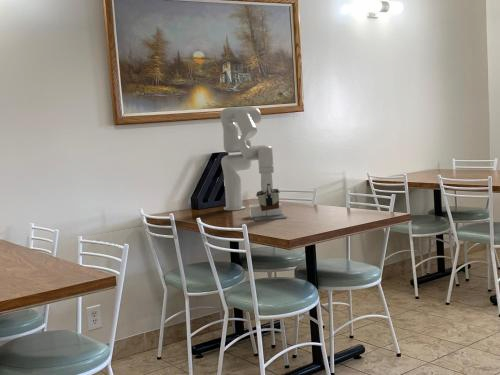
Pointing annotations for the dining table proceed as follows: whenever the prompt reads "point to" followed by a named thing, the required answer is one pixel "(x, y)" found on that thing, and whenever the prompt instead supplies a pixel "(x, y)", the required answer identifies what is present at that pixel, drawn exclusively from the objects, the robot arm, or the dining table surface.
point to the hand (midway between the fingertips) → (268, 204)
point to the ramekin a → (256, 211)
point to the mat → (269, 217)
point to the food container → (262, 199)
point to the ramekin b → (275, 211)
